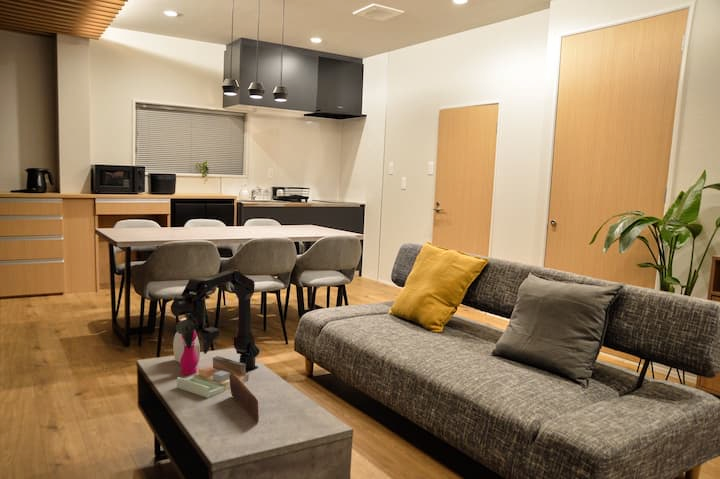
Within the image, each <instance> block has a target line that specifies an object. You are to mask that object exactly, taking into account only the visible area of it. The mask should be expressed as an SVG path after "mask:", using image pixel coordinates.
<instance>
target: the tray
mask: <svg viewBox="0 0 720 479" xmlns="http://www.w3.org/2000/svg"><path fill="white" fill-rule="evenodd" d="M176 388H177V389H180V390H183V391H186V392H189V393H191V394H195V395H197V396H199V397H203V398H206V399H209V398H212V397H214V396H217V395H219V394H221V393H224V392H225V391H224V387H223V386H220V385H217V384H214V383H211V382H208V381H205V380H202V379H198V378H195V377H194V376H191V377H188V378H186V379H185V378H183V377H181V376H180V377H179V376H178V377H176Z"/></svg>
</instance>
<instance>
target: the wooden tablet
mask: <svg viewBox="0 0 720 479" xmlns="http://www.w3.org/2000/svg"><path fill="white" fill-rule="evenodd" d="M230 393H231V397H232V398H233V399H234V400H235V401H236V402H237V403H238V404H240V405H241V407H243V408H244V410H246V412H247V413H248V414H249V415H250V416H251V417H252V419H253V420H254V421H255V422H256V423H259V421H260V420H259V419H260V418H259V401H258V399H257V398H256V396H255V395H254V394H253V393H252V392H251V391H250V389H249V388H248V387H247V386H246V385H245V384H244V383H242V382H241V381H240V380H239V379H238V378H237V377H236V376H235V375H234V374H232V373H230Z"/></svg>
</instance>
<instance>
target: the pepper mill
mask: <svg viewBox="0 0 720 479" xmlns="http://www.w3.org/2000/svg"><path fill="white" fill-rule="evenodd" d="M196 337H198V332H196V331H194V334H193V339H192V344H191V348H190V349H188V348H187V346H186V343H185V340H184V337H183V335H182V339H183V340H184V341H183V345H184V352H183V355H182V357H181V359H180V363H179V365H180V367H181V368H180V374H182V375H183V376H190V375H191V376H192V375H195V374H197V372H198V371H197V370H198V368H197V366H198V365H197V364H199V362H198V359H197V356H196V354H195V351H194V345H195V339H196Z"/></svg>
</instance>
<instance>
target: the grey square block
mask: <svg viewBox="0 0 720 479" xmlns="http://www.w3.org/2000/svg"><path fill="white" fill-rule="evenodd" d="M228 379H230V373H229V372H225V371H222V370H221V371H218V372H216V373H213V380H216V381H219V382H223V381H226V380H228Z"/></svg>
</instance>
